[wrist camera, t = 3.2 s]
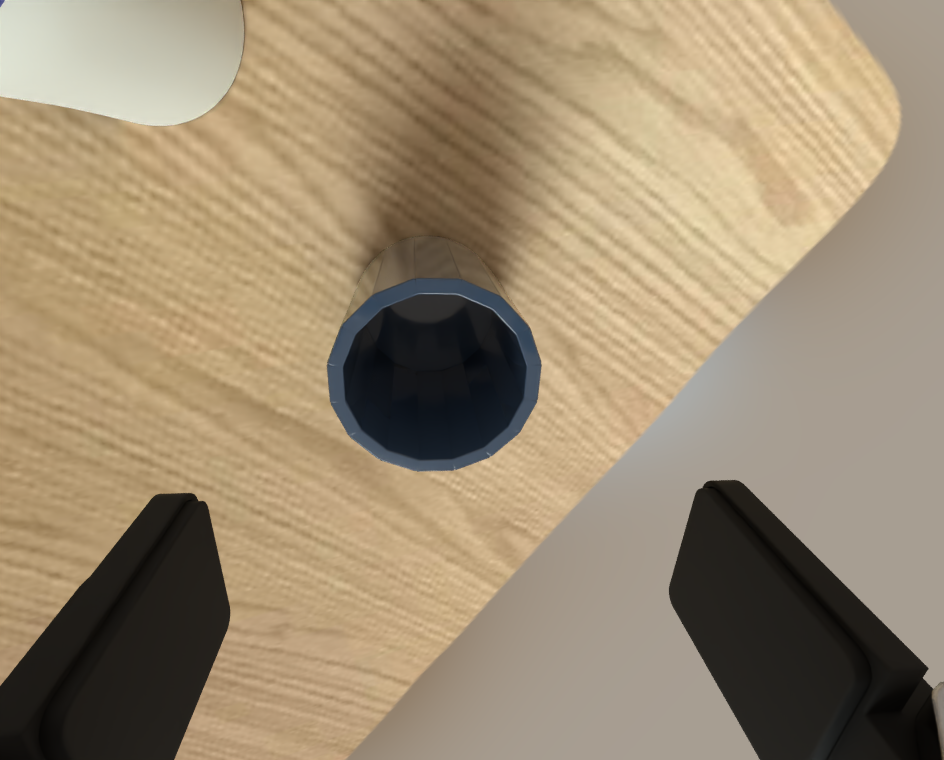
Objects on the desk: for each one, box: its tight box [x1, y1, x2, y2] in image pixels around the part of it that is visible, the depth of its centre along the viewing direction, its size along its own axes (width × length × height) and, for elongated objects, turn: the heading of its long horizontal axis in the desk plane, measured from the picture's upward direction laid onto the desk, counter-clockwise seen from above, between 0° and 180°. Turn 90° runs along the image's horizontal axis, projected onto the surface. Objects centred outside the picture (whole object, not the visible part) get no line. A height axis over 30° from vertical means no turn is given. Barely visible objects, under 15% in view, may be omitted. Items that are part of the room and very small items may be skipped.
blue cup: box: [327, 236, 542, 471], centre depth 19 cm, size 7×7×8 cm
